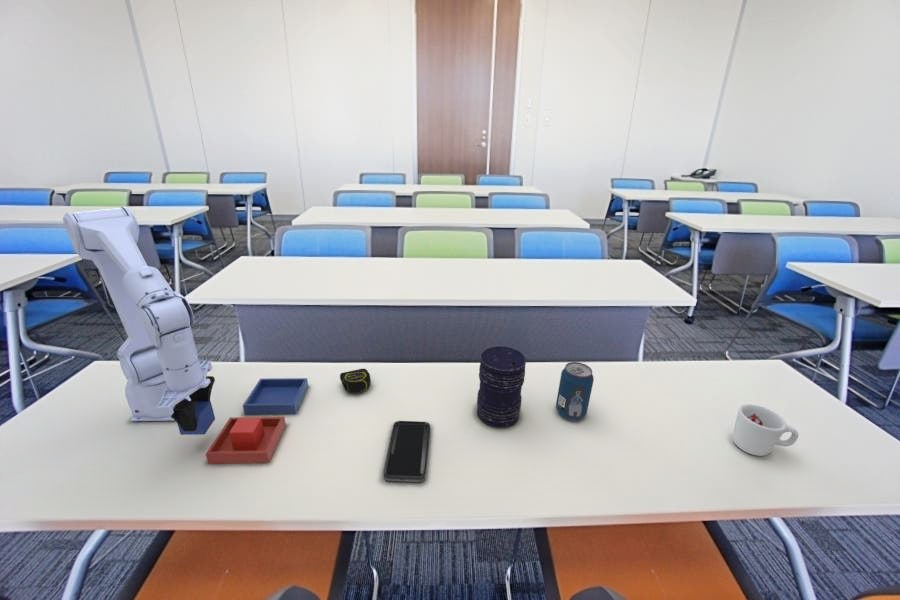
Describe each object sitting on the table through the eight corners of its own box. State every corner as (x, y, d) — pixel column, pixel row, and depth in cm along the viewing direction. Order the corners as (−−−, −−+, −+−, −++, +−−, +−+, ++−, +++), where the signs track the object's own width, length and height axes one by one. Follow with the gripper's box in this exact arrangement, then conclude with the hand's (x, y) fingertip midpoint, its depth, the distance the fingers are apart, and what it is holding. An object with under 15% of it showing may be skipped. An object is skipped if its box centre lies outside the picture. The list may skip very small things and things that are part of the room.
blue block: (180, 434, 76) (174, 416, 74) (192, 419, 80) (187, 401, 78) (204, 434, 76) (199, 416, 74) (215, 419, 80) (211, 401, 78)
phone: (430, 422, 86) (424, 478, 72) (430, 426, 86) (424, 482, 72) (393, 420, 86) (381, 476, 72) (394, 424, 86) (381, 480, 72)
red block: (233, 450, 78) (229, 432, 76) (242, 434, 82) (238, 417, 80) (256, 449, 78) (252, 432, 76) (264, 433, 82) (261, 416, 80)
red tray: (208, 464, 75) (205, 453, 74) (232, 426, 84) (229, 417, 83) (268, 462, 76) (266, 452, 75) (286, 425, 85) (284, 416, 84)
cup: (780, 442, 85) (794, 412, 82) (796, 469, 78) (812, 438, 75) (722, 429, 88) (734, 400, 85) (733, 454, 81) (746, 424, 78)
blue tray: (244, 414, 88) (242, 405, 87) (261, 387, 97) (260, 378, 96) (296, 414, 89) (294, 404, 88) (308, 386, 98) (307, 378, 97)
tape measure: (367, 377, 102) (366, 365, 101) (373, 392, 97) (373, 379, 95) (340, 383, 100) (339, 370, 98) (345, 399, 94) (344, 385, 92)
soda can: (571, 400, 96) (579, 357, 91) (592, 418, 90) (602, 373, 86) (548, 407, 93) (555, 364, 88) (568, 426, 88) (577, 381, 83)
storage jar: (467, 411, 91) (470, 355, 85) (496, 395, 97) (501, 341, 91) (499, 435, 84) (505, 376, 78) (528, 416, 90) (536, 360, 84)
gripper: (180, 385, 65) (198, 448, 71) (221, 341, 79) (234, 397, 84) (135, 385, 65) (157, 449, 70) (184, 341, 78) (199, 397, 84)
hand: (196, 421), depth 77 cm, fingers closed on blue block, 4 cm apart
